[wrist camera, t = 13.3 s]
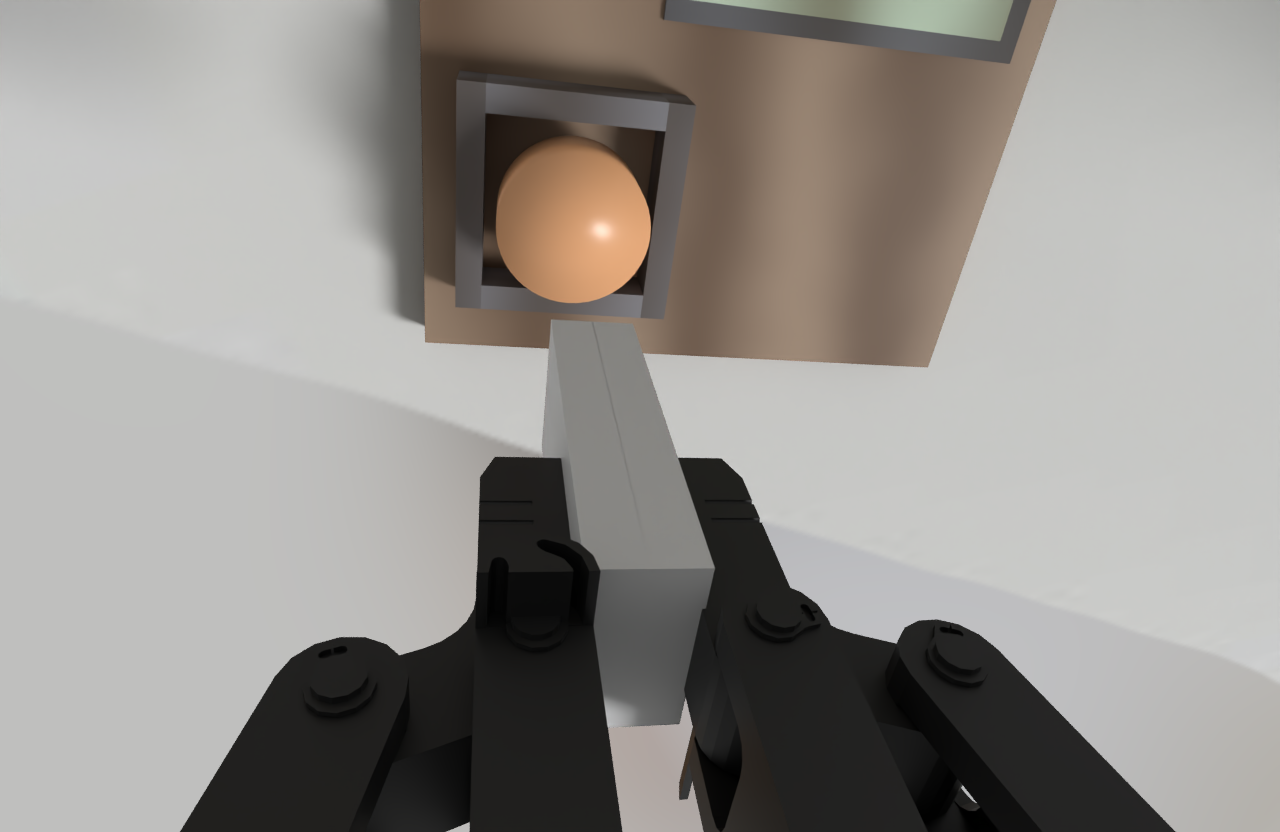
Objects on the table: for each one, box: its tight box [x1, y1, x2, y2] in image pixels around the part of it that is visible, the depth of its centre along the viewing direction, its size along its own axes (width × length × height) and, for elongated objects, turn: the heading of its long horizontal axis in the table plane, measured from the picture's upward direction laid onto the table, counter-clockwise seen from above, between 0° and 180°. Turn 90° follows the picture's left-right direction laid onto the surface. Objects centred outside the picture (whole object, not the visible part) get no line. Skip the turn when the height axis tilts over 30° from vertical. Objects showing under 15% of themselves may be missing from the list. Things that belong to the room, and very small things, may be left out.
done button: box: [496, 136, 651, 303], centre depth 23 cm, size 4×4×2 cm
